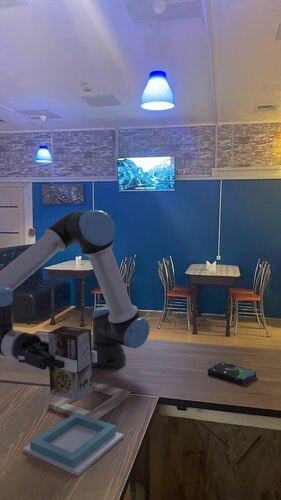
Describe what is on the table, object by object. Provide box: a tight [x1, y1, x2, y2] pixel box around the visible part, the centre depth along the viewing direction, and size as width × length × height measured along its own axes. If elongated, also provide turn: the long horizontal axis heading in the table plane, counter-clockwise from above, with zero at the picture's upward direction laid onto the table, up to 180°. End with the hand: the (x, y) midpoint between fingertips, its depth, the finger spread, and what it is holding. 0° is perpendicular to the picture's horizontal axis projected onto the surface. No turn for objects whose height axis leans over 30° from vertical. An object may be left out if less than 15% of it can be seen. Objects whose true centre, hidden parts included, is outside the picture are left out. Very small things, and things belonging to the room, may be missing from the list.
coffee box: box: [47, 325, 93, 401], centre depth 94 cm, size 9×6×16 cm
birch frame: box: [48, 380, 132, 420], centre depth 119 cm, size 17×20×2 cm
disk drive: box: [207, 361, 257, 387], centre depth 139 cm, size 10×3×15 cm
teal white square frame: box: [22, 412, 124, 477], centre depth 96 cm, size 18×18×3 cm
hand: (86, 361), depth 92 cm, fingers closed on coffee box, 7 cm apart
